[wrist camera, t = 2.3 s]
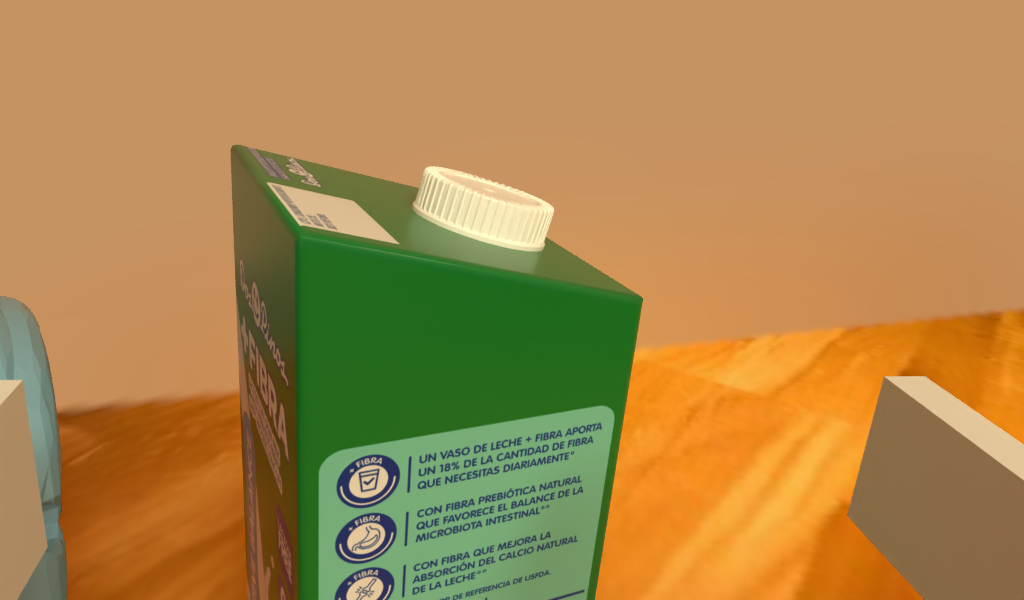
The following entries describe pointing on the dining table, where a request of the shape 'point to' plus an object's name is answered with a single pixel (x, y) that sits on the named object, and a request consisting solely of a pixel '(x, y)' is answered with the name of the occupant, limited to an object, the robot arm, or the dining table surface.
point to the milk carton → (421, 388)
